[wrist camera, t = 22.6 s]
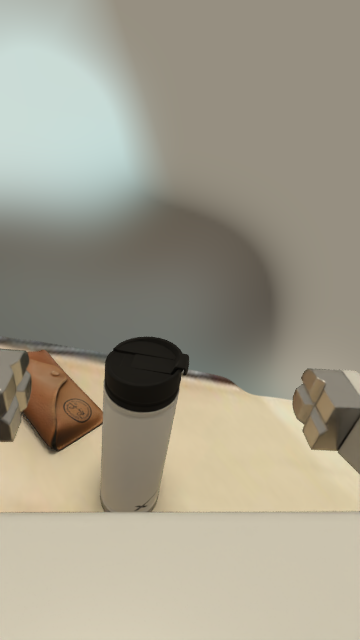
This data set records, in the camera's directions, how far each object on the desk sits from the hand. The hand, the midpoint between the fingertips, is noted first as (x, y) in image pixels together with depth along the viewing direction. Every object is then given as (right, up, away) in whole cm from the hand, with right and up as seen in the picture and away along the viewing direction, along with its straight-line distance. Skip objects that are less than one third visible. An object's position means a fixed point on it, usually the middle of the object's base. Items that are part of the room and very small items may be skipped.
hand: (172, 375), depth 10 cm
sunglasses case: (-18, -9, +37) cm, 42 cm away
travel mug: (-5, -18, +27) cm, 33 cm away
